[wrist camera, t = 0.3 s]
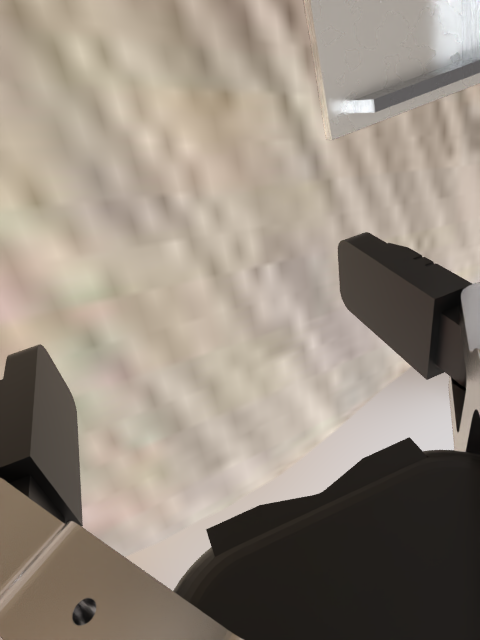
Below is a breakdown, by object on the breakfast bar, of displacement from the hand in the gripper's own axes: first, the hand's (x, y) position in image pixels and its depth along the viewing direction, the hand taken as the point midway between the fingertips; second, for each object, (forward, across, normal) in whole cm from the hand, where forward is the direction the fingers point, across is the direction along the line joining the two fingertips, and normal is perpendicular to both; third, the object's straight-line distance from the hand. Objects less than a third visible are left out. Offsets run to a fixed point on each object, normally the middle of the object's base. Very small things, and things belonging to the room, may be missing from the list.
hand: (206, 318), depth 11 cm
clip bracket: (+28, -26, -3) cm, 39 cm away
